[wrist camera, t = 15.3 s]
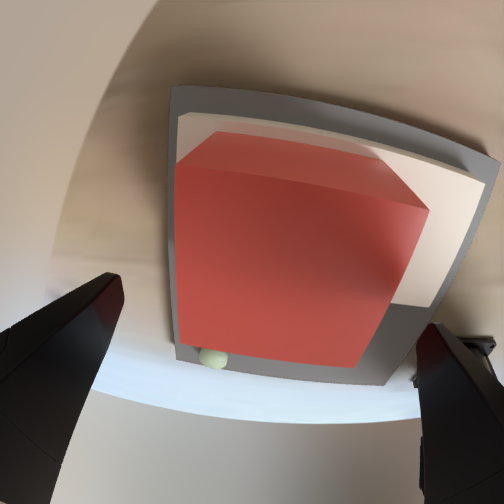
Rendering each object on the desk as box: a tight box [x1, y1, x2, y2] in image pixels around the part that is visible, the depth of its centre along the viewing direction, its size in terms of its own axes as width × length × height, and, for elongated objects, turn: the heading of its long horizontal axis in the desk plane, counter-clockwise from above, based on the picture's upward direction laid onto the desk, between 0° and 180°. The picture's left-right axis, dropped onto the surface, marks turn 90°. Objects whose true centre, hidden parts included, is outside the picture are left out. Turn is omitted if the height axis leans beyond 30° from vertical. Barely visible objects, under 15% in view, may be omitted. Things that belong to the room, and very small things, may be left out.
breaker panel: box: [167, 85, 501, 386], centre depth 17 cm, size 17×19×3 cm
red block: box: [174, 131, 430, 368], centre depth 11 cm, size 7×7×5 cm
